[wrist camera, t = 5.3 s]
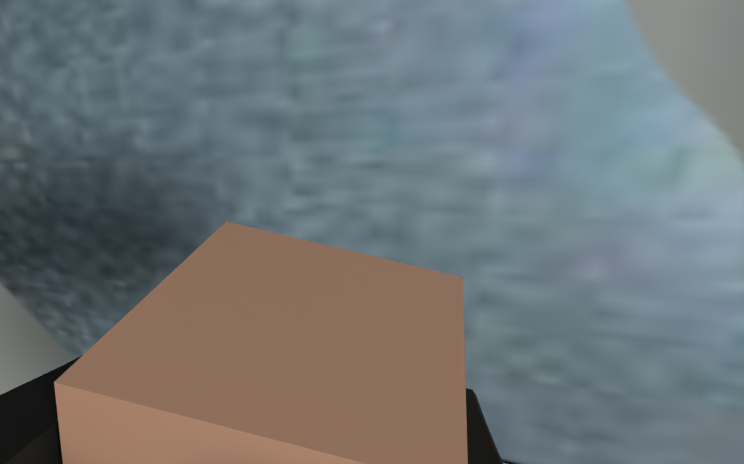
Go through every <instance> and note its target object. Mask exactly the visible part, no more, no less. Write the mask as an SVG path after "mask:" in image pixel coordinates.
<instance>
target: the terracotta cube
mask: <svg viewBox="0 0 744 464" xmlns="http://www.w3.org/2000/svg"><path fill="white" fill-rule="evenodd" d="M54 387H55V396H56V405H57V414H58V423H59V433H60V442H61V451H62V460H63V464H468V453H467V418H466V382H465V347H464V311H463V277H459V276H455V275H451V274H446V273H442V272H438V271H434V270H429V269H425V268H421V267H417V266H412V265H408V264H404V263H400V262H395V261H391V260H387V259H383V258H378V257H374V256H370V255H366V254H362V253H357V252H353V251H349V250H345V249H340V248H336V247H332V246H328V245H323V244H319V243H315V242H311V241H306V240H302V239H298V238H294V237H290V236H285V235H281V234H277V233H273V232H268V231H264V230H260V229H256V228H251V227H247V226H243V225H239V224H234V223H230V222H225V223H224V224H223V225H222V226H221V227H220V228H219V229H218V230H217V231H215V232H214V233H213V234H212V235H211V236H210V237H209V238H208V239H207V240H206V241H205V242H204V243H203V244H202V245H200V246H199V247H198V248H197V249H196V250H195V251H194V252H193V253H192V254H191V255H190V256H189V257H188V258H187V259H185V260H184V261H183V262H182V263H181V264H180V265H179V266H178V267H177V268H176V269H175V270H174V271H173V272H172V273H170V274H169V275H168V276H167V277H166V278H165V279H164V280H163V281H162V282H161V283H160V284H159V285H158V286H157V287H155V288H154V289H153V290H152V291H151V292H150V293H149V294H148V295H147V296H146V297H145V298H144V299H143V300H142V301H140V302H139V303H138V304H137V305H136V306H135V307H134V308H133V309H132V310H131V311H130V312H129V313H128V314H127V315H125V316H124V317H123V318H122V319H121V320H120V321H119V322H118V323H117V324H116V325H115V326H114V327H113V328H112V329H110V330H109V331H108V332H107V333H106V334H105V335H104V336H103V337H102V338H101V339H100V340H99V341H98V342H97V343H95V344H94V345H93V346H92V347H91V348H90V349H89V350H88V351H87V352H86V353H85V354H84V355H83V356H82V357H80V358H79V359H78V360H77V361H76V362H75V363H74V364H73V365H72V366H71V367H70V368H69V369H68V370H67V371H65V372H64V373H63V374H62V375H61V376H60V377H59V378H58V379H57V380H56V381H55V382H54Z"/></svg>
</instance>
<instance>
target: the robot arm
mask: <svg viewBox="0 0 744 464" xmlns="http://www.w3.org/2000/svg"><path fill="white" fill-rule="evenodd" d="M82 356H83V355H82ZM82 356H80V357H82ZM80 357H78V358H76V359H75V360H73V361H71V362H69V363H67V364H65V365H63V366H61V367H59V368H57V369H55V370H53V371H50V372H48V373H46V374H44V375H42V376H40V377H38V378H36V379H33V380H32V381H30V382H27V383H25V384H23V385H21V386H19V387H16V388H14V389H12V390H10V391H8V392H6V393H4V394H2V395H0V464H63V460H62V451H61V442H60V433H59V423H58V414H57V405H56V396H55V387H54V382H55V381H56V380H57V379H58V378H59V377H60V376H61V375H62V374H63V373H64V372H65V371H67V370H68V369H69V368H70V367H71V366H72V365H73V364H74V363H75V362H76V361H77V360H78V359H79V358H80ZM466 418H467V453H468V464H507V463H503V462H502V460H501V457H500V455H499V453H498V451H497V448H496V446H495V443H494V441H493V439H492V436H491V434H490V431H489V429H488V426H487V424H486V421H485V418H484V416H483V413H482V410H481V408H480V405H479V402H478V399H477V397H476V395H475V393H474V392H473V390H471V389H467V388H466Z"/></svg>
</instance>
